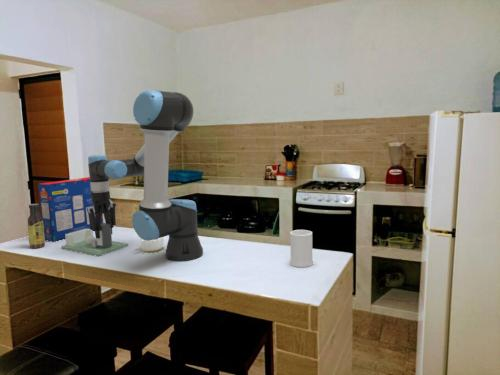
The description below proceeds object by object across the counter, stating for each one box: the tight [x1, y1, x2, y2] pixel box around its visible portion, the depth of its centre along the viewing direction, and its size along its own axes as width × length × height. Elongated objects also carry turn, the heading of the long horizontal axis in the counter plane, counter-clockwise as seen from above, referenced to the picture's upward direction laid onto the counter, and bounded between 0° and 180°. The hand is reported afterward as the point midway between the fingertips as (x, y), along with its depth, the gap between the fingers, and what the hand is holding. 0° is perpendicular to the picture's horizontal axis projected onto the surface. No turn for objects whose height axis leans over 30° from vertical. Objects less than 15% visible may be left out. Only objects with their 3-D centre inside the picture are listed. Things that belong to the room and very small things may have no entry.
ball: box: [86, 235, 96, 245], centre depth 169 cm, size 4×4×4 cm
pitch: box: [60, 229, 129, 257], centre depth 168 cm, size 25×16×6 cm, turn 60°
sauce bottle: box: [27, 203, 46, 249], centre depth 170 cm, size 7×6×20 cm
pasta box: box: [37, 176, 104, 243], centre depth 191 cm, size 28×8×28 cm, turn 148°
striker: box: [91, 222, 113, 248], centre depth 165 cm, size 7×6×10 cm
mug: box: [289, 229, 314, 268], centre depth 140 cm, size 12×8×12 cm
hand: (104, 243), depth 164 cm, fingers closed on striker, 4 cm apart
